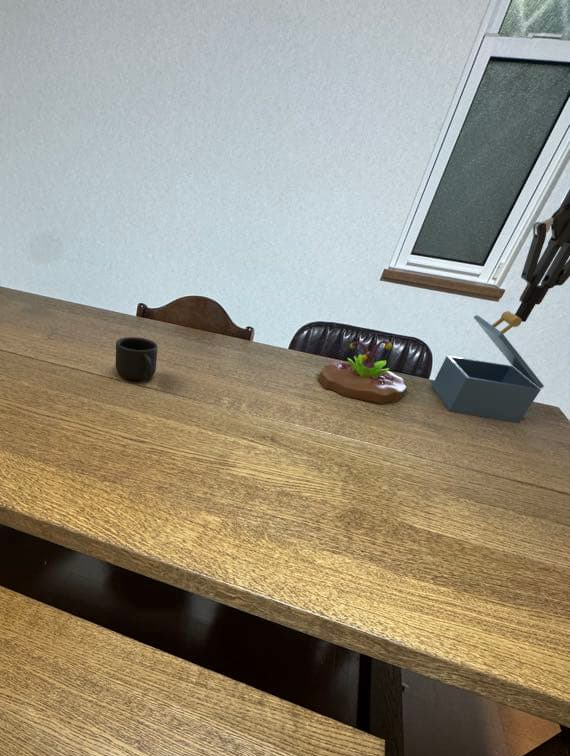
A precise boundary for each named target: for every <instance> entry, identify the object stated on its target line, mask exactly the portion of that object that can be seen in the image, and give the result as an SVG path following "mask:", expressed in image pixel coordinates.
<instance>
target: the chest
mask: <svg viewBox="0 0 570 756" xmlns="http://www.w3.org/2000/svg"><path fill="white" fill-rule="evenodd" d="M431 388H432V389H433V390H434V392H435V394H437V396H438V398H439V399H440V400H441V402H442V403H443V404H444V406H445V407H446V409H447V410H448V411H449V412H453V413H458V414H465V415H470V416H476V417H481V418H482V417H483V418H489V419H494V420H500V421H506V422H513V423H521V421H522V419H523V418H524V416H526V413H527V412H528V411H529V409H530V407H532V404H533V402H534V401H535V400H536V398H537V397H538V395H539V393H540V392H541V390H542V388H541V389H540V388H539V387H537V386H536V385H535V384H534V383H533V382H531V381H530V380H529V379H528V378H527V377H525V376H524V375H523V374H522V373H521V372H519V371H518V370H517V369H516V368H515V367H513V366H512V365H511V364H510V365H508V364H503V363H497V362H489V361H484V360H477V359H472V358H471V359H470V358H465V357H464V358H463V357H458V356H452V355H446V356H445V357H444V360H443V362H442V364H441V366H440V368H439V371H438V372H437V375H436V376H435V379H434V381H433V383H432V385H431Z"/></svg>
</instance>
